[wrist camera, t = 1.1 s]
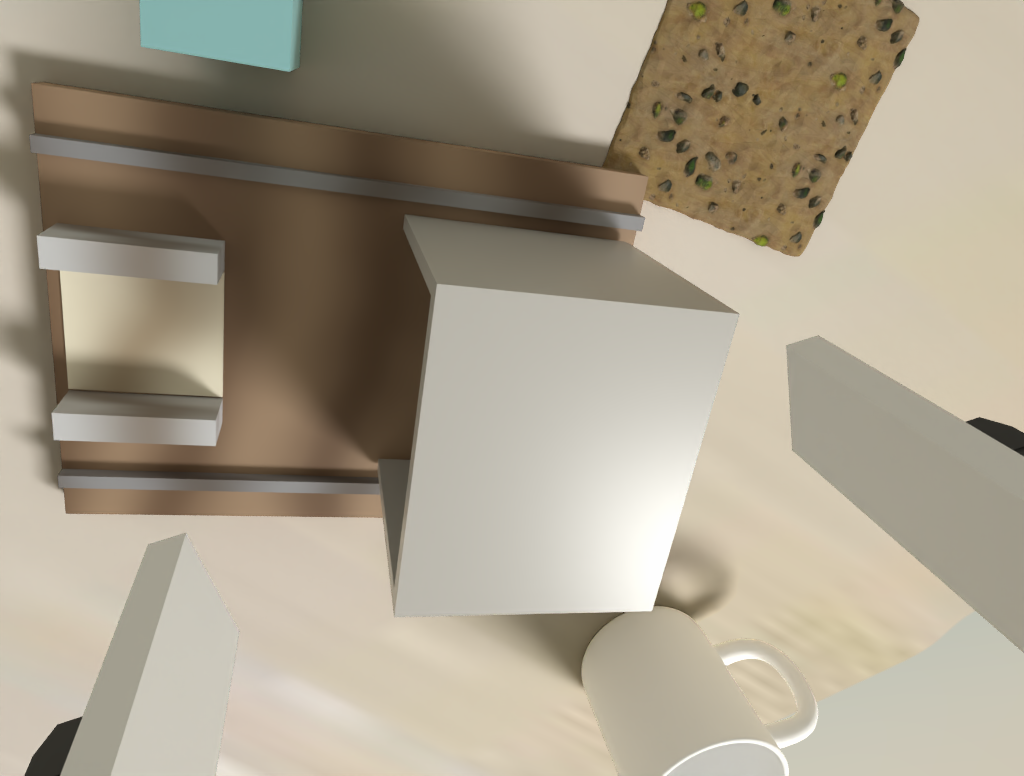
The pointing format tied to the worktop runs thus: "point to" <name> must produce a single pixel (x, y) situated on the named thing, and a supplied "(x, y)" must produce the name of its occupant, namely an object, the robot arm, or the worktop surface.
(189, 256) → the board
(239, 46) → the teal block
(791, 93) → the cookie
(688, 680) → the cup
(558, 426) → the housing
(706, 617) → the worktop surface
